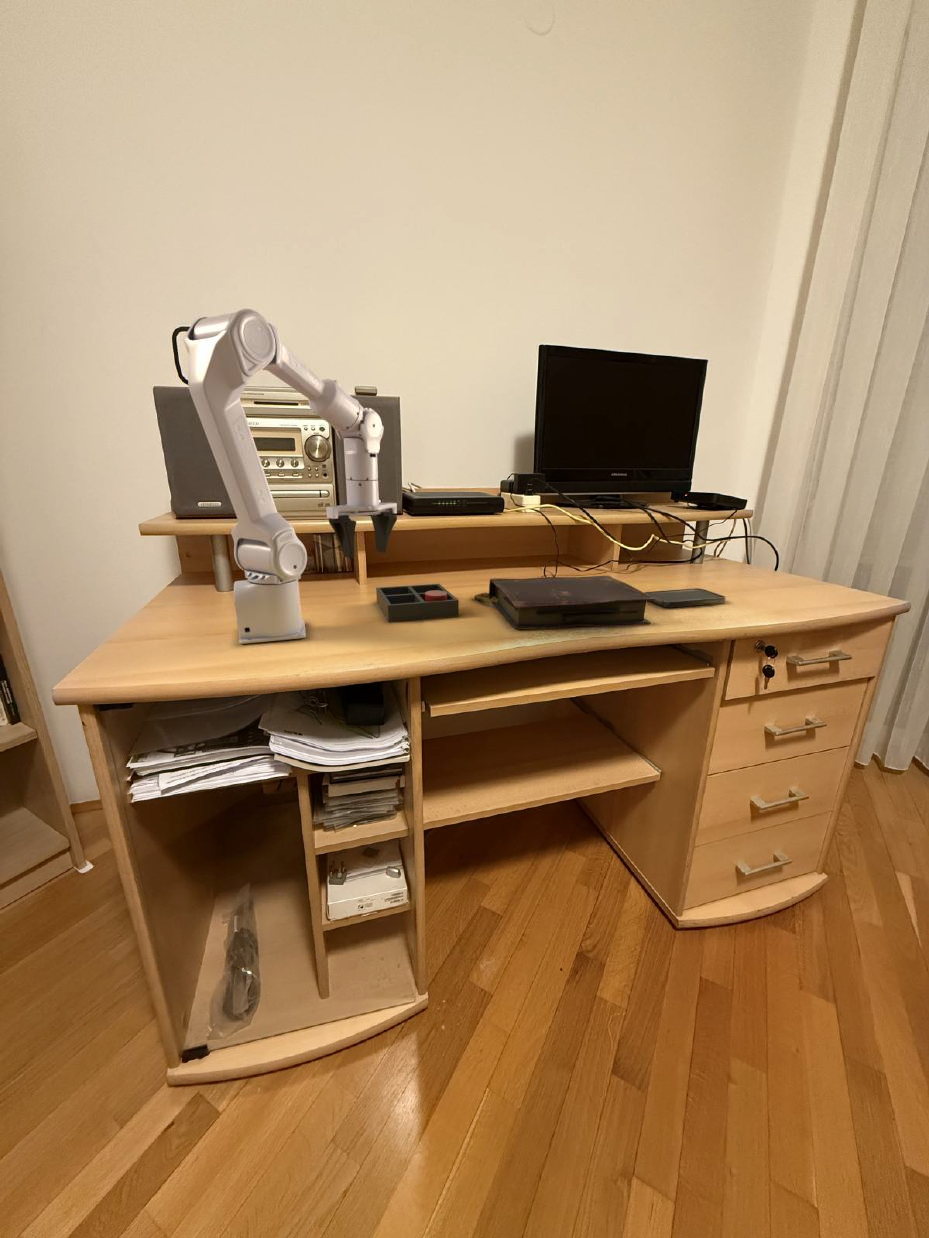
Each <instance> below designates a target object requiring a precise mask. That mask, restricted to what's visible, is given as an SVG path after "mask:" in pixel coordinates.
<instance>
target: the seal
mask: <svg viewBox="0 0 929 1238" xmlns="http://www.w3.org/2000/svg"><path fill="white" fill-rule="evenodd" d="M473 598H474V601H477V602H479V603H480V604H482V605H485V606H487V607H493V608H495V606H494V605H493V604H492V602H496V603H498V599H496V597H495V596H493V597H492V598H491V599H489V592H481V593H477V594H475V595H474V597H473Z"/></svg>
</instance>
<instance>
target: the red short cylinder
mask: <svg viewBox="0 0 929 1238" xmlns="http://www.w3.org/2000/svg"><path fill="white" fill-rule="evenodd" d="M441 600H447V592H445V591H439V590H433V591H427V592H425V602H428V601H441Z"/></svg>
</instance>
